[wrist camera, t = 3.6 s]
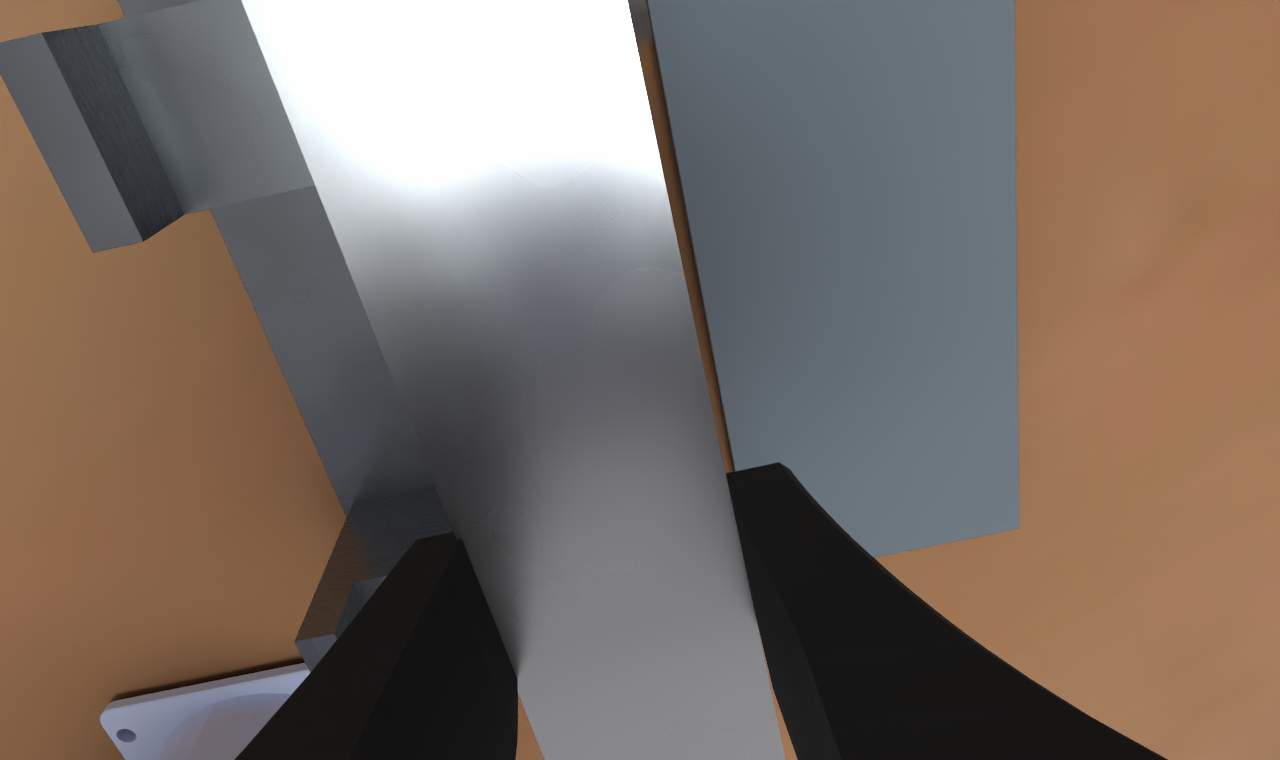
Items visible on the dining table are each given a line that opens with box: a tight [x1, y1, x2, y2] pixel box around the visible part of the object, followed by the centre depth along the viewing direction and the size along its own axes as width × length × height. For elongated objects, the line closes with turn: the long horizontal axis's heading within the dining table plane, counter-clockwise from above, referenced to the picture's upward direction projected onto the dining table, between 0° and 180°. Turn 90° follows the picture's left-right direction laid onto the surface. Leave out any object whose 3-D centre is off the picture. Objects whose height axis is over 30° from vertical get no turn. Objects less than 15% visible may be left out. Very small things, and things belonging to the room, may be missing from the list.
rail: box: [241, 0, 785, 760], centre depth 11 cm, size 16×3×3 cm, turn 12°
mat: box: [646, 0, 1019, 558], centre depth 19 cm, size 18×7×1 cm, turn 12°
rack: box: [0, 0, 454, 673], centre depth 17 cm, size 16×6×6 cm, turn 12°
